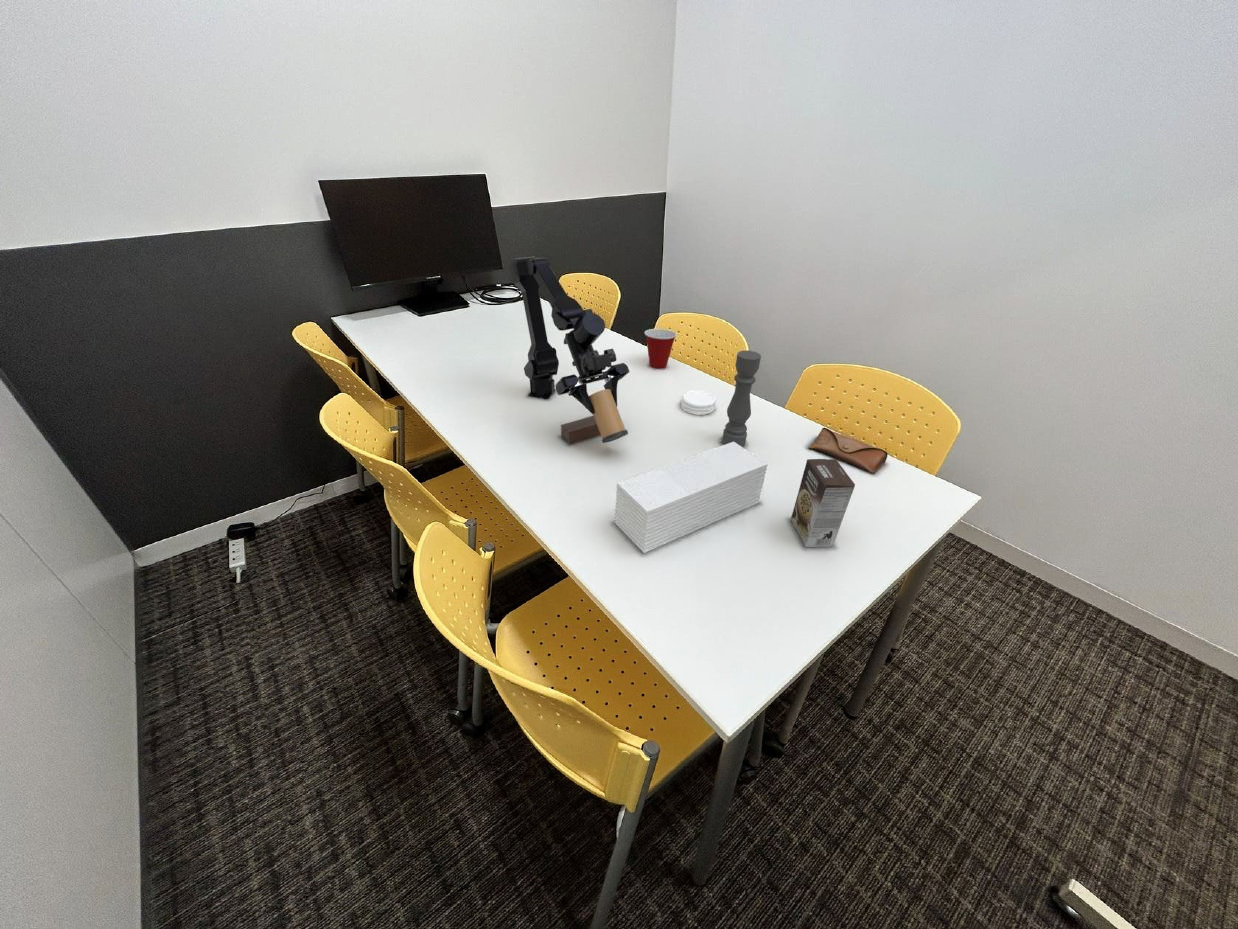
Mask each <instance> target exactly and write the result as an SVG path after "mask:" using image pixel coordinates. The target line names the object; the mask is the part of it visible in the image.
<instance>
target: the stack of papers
mask: <svg viewBox="0 0 1238 929" xmlns="http://www.w3.org/2000/svg"><path fill="white" fill-rule="evenodd" d="M767 469H768V463H766V461H764V460H762V459H761V458H760V457H758V456H757V455H755V454H753V453H752V452H750V451H749V450H748V449H746V448H744V447H741V446H740V445H738V444H737V443H735V442H731V443H728V444H725V445H723V444H722V445H720V446H717V447H715V448H711V449H708V450H706V451H703V452H700V453H697V454H694V455H692V456H688V457H687V458H683V459H680V460H678V461H677V460H676V461H675V462H672V463H668V464H666V465H663V466H660V467H657V468H654V469H652V470H649V471H646V472H644V473H641V474H637V475H635V476H632V477H629V478H626V479H624V480H623V479H622V480H621V481H617V482H616V491H615V492H616V495H615V518H614V519H615V521H614V523H615V524H616V526H617V527H618V528H619V529H620V530H621V531H622V532H623V533H624V534H625V535H626V536H627V537H628V538H629V539H630V541H631V542H632V543H633V544H634V545H636V547H637V548H638V549H639V550H640V551H641V552H642V553H643V554H645V553H648V552H650V551H652V550H654V549H657V548H660V547H661V546H664V545H666V544H669V543H670V542H673V541H675V540H677V539H680V538H682V537H684V536H687V535H689V534H691V533H693V532H695V531H698V530H700V529H703V528H704V527H707V526H709V525H711V524H714V523H716V522H718V521H721V520H723V519H725V518H728V517H730V516H733V515H734V514H736V513H739V512H741V511H743V510H746V509H748V508H750V507H753V506H755V505H757V504H759V503H760V498H761V496H762V490H763V486H764V482H765V477H766V473H767Z"/></svg>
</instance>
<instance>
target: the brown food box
mask: <svg viewBox="0 0 1238 929" xmlns="http://www.w3.org/2000/svg"><path fill="white" fill-rule="evenodd" d="M855 487H856V484H855V482H854V481H853V480H852V478H851V477H850V475H848V473H847V472H846V470H845V469H844V468H843V466H842V465H841V464H840V462H839V460H838V459H836V458H830V459H829V458H828V459H827V458H810V459H808V458H807V459H806V462H805V467H804V469H803V473H802V477H801V481H800V485H799V488H798V490H797V491H798V492H797V496H796V499H795V502H794V506H793V510H792V513H791V517H790V521H791V523H792V525H793V527H794V528H795V530H796V532H797V534H798V536H799V539H800V540H801V542H802V544H803V546H804V547H805V548H822V547H823V548H824V547H827V548H829V547H834V545H835V543H836V539H837V536H838V533H839V531H840V528H841V525H842V522H843V519H844V517H845V514H846V512H847V509H848V507H849V503H850V500H851V498H852V495H853V492H854V490H855Z"/></svg>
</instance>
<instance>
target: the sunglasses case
mask: <svg viewBox="0 0 1238 929" xmlns="http://www.w3.org/2000/svg"><path fill="white" fill-rule="evenodd" d="M808 449H810V450H813V451H816V452H819V453H822V454H823V455H827V456H829V457H831V458H833V459H836V460H838V461H841V462H844V463H846V464H848V465H850V466H853V467H855V468H857V469H860V470H863V471H866V472H869V473H872V474H875V473H877V472H878V471H879V470H880V469H882V468H883V466H884V465H885V463H886V462H887V459H888V454H889V453H888V452H887V451H886V450H885V449H882V448H879V447H875V446H872V445H869V444H867V443H865V442H862V441H859V440H857V439H855V438H852V437H849V436H847V435H844V434H841V433H838V432H836V431H833V430H831V429H830V428H827V427H822V428H821V430H820V431H819V433H818V435H817V436H816V437H815V439H814V441H813V442H812V443H811V444H810V445H809V446H808Z"/></svg>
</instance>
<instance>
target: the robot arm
mask: <svg viewBox="0 0 1238 929" xmlns="http://www.w3.org/2000/svg"><path fill="white" fill-rule="evenodd" d="M509 273H510V275H511V277H512V281H513V283H514V285H515V286H516V288H517V289H518V290H519V291H520V292H521V296H522V301H523V302H522V303H523V306H524V313H525V318H526V324H527V328H528V329H527V330H528V333H529V339H530V347H529V349H528V353H527V360H528V361H527V362H526V364H525V366H524V367H523V371H524V376H525V377H527V379H529V390H530V392H529V393H528V397H531V398H536V399H543V400H549V399H550V398H551V397H552V396H553V395H554V393H555V392H556V394H557V395H558V396H562V395H566V394H567V395H568V396H569V397H571V396H572V397H573V398H574V399H575V400H577V401H578V402H579V403H581V405H582V406H583V407H584V408H585V409H586V410H587V411H588V412H590V414H591V415H593V414H594V413H595V411H594V407H593V405H592V402H591V400H590V398H589V396H590V395H589V393H588V388H587V385H588V384H592V383H595V382H599V381H604V382H605V383H604V384H603V388H604V390H605V389H610V390H611V393H612V396H613V398H614V401H615V403H616V406H617V407H618V382H619V381H620V380H622V379H623V378H624V377H626V376H627V375H628V374H629V373H630V369H629V366H628V365H627V364H626V363H624V362H621V363H617V364H613V365H612V363H614V362H617V355H616V351H615V350H614V348H608V349H604V350H603V353H602V354H600V353H599V351H598V350H597V349H594V347H593V344H595V342H596V341H597V340H598V339H599V338H600V336H601V335H602V334H603V333H604V331H605V329H606V323H605V320H604V319H603V318H602V317H601V316H600V315H599V314H597V313H595V312H593V309H592V308H588V309H584V308H583V307H582V305H581V304H580V303H579V302H578V301H577V299H576V298H574V297H571V296H569V295H568V294H567V292H566V291H565V289H564V287H563V286H562V284H561V283H560V281H559V278H558V277H557V276H556V274H555V272H554V271H553V269H552V267H551V264H550V260H549V258H548V257H547V258H546V257H536V256H526V257H518V258H513V259H512V261H511V263H510V264H509ZM540 289H541V291H542V293H543V295H544V296H545V298H546V300H547V302H548V303H549V305H550V307H551V315H550V316H551V318H552V323H553V325H554V327H556V329H557V330H558V331H562V332H563V331H568V330H570V331H569V332H567V333H565V336H564V339H563V345H567V347H568V349H569V352H570V354H571V357H572V360H573V361H572V362H571V365H572V367H575V368H576V371H577V373H578V376H577V375H576V374H569V375H565V376H561V378H560V379H559V380H558V382H555V379H554V376H557V375H558V371H559V366H560V362H559V358H558V355H557V349H556V348H555V347H553V346H552V345H551V344H550V342H549V340H548V335H547V328H546V322H545V318H544V312H543V307H542V306H543V305H542V301H541V295H540ZM607 368H608V369H607ZM606 369H607V370H606ZM604 370H605V371H604Z"/></svg>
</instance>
